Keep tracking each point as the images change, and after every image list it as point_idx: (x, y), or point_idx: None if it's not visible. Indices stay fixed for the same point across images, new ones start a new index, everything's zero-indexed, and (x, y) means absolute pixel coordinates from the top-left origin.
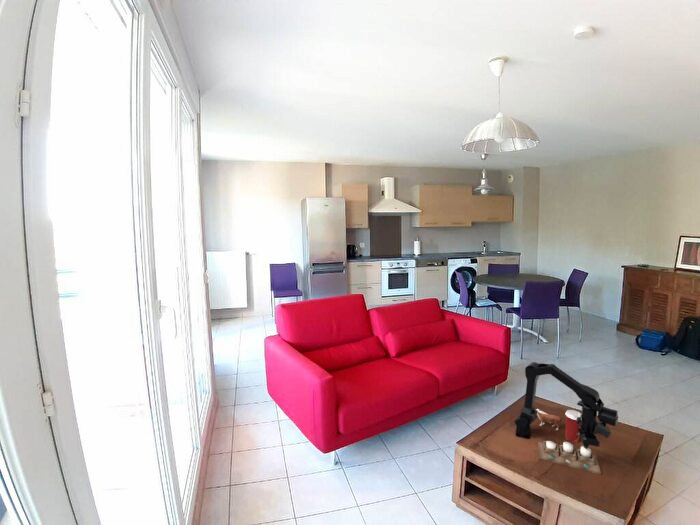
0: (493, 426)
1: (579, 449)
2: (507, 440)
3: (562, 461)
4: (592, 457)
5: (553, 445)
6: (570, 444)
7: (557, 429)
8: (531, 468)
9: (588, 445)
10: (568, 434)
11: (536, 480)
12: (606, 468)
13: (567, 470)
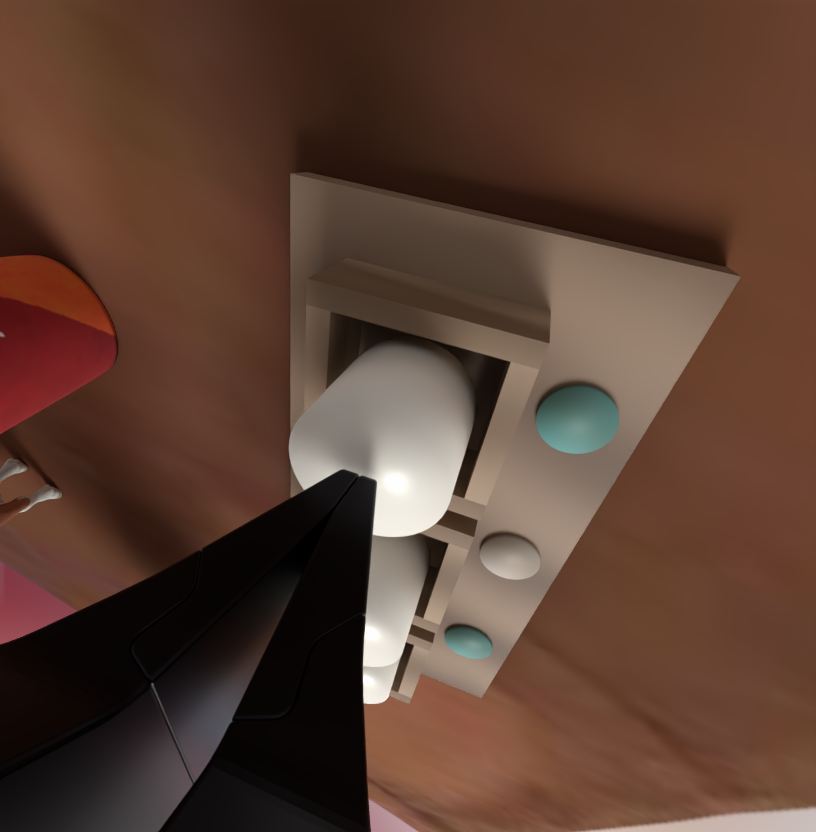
0: None
1: None
2: None
3: (518, 600)
4: (459, 339)
5: (374, 680)
6: None
7: None
8: (611, 763)
9: (369, 558)
10: (51, 402)
11: (756, 807)
12: (547, 75)
13: (627, 594)
